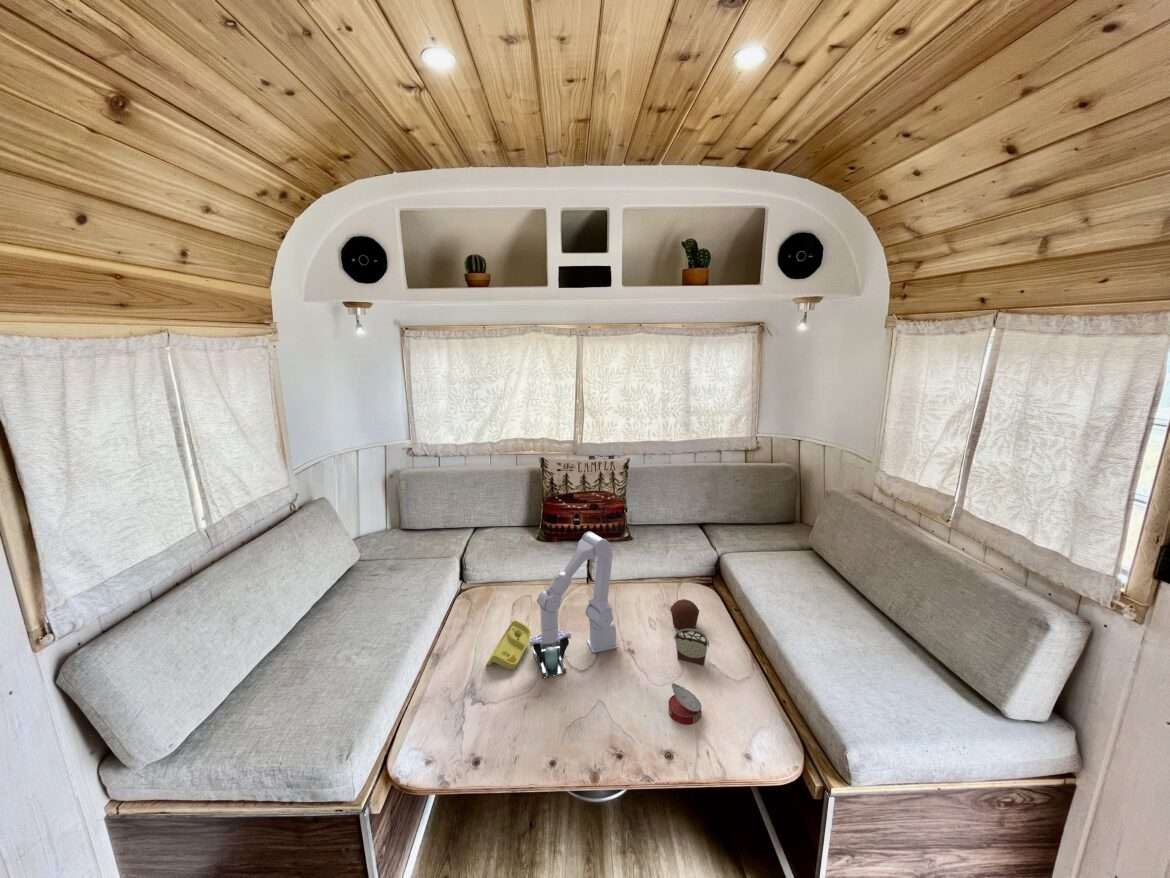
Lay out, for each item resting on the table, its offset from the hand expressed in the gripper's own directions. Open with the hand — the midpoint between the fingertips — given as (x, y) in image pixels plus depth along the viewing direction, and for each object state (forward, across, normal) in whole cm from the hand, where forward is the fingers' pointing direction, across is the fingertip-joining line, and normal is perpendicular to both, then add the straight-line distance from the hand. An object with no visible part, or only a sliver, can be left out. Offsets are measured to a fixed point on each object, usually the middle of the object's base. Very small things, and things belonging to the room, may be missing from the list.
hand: (551, 659), depth 170 cm
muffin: (+3, -56, -7) cm, 57 cm away
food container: (+3, -49, +12) cm, 51 cm away
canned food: (+3, -34, +34) cm, 48 cm away
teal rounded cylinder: (+2, 0, 0) cm, 2 cm away
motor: (+3, -1, -3) cm, 4 cm away
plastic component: (+3, +12, -12) cm, 18 cm away
